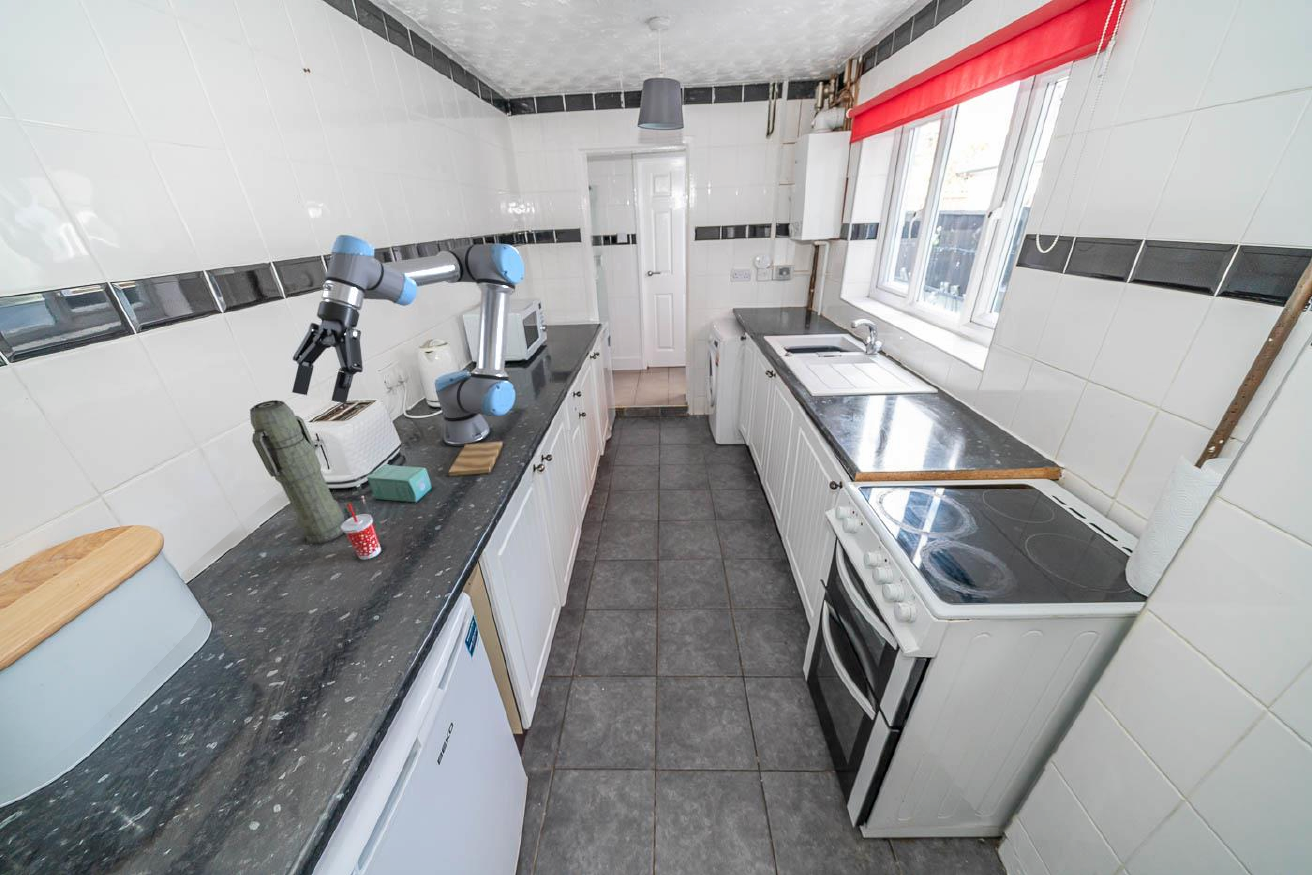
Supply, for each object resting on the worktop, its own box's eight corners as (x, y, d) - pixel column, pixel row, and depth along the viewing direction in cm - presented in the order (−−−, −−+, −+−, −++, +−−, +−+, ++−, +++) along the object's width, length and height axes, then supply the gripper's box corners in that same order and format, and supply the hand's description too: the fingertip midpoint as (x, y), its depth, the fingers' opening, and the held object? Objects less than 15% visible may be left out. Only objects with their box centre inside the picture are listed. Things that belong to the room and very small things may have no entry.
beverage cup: (363, 545, 109) (341, 497, 102) (389, 543, 109) (369, 494, 103) (349, 563, 103) (326, 513, 97) (377, 560, 104) (355, 510, 97)
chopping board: (466, 448, 152) (465, 444, 151) (502, 445, 153) (501, 441, 152) (449, 476, 136) (448, 472, 135) (490, 472, 137) (488, 468, 136)
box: (417, 503, 124) (409, 479, 121) (374, 500, 126) (365, 477, 123) (433, 488, 130) (426, 466, 127) (392, 486, 133) (384, 463, 130)
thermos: (358, 516, 120) (305, 393, 104) (330, 546, 109) (267, 413, 93) (324, 518, 120) (266, 395, 104) (294, 548, 109) (224, 416, 93)
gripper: (288, 296, 103) (265, 387, 102) (362, 302, 94) (338, 402, 93) (322, 309, 110) (301, 394, 109) (394, 315, 101) (372, 408, 100)
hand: (318, 398), depth 101 cm, fingers open, 13 cm apart
